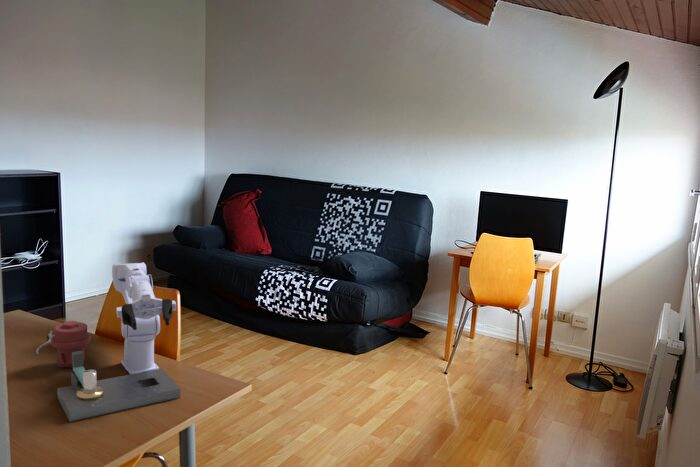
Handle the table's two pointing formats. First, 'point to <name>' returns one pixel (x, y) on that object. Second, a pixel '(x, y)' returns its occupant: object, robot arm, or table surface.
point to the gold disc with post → (89, 386)
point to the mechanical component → (69, 341)
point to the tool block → (118, 394)
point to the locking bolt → (78, 364)
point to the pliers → (45, 342)
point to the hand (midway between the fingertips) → (151, 323)
